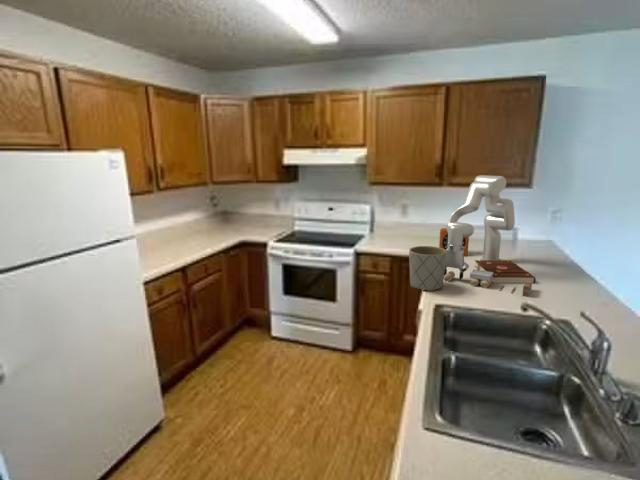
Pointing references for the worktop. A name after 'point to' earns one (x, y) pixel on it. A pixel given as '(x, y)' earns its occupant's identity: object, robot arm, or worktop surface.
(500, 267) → the book
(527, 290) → the stop block
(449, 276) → the roller
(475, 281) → the bed rollers
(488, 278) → the slab
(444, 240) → the alarm clock
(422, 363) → the worktop surface
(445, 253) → the planter
